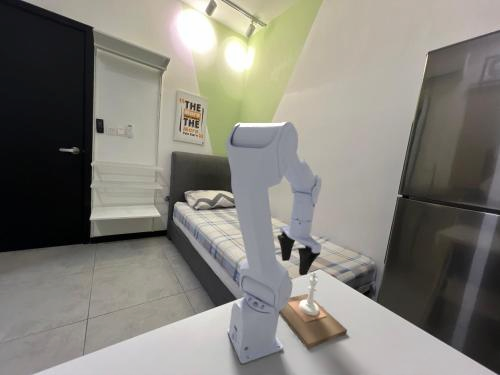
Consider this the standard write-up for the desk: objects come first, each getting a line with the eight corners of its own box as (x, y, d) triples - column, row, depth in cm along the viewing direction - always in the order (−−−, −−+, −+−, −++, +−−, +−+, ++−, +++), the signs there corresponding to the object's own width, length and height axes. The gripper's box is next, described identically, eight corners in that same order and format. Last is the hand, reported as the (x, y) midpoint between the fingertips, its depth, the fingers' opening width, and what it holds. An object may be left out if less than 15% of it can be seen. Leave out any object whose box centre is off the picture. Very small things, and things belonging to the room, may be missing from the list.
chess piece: (313, 318, 49) (320, 280, 48) (295, 307, 52) (301, 271, 51) (321, 309, 53) (327, 273, 52) (304, 299, 56) (309, 265, 55)
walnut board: (307, 348, 42) (308, 343, 42) (272, 304, 54) (273, 300, 54) (346, 333, 47) (347, 329, 47) (306, 297, 59) (307, 293, 59)
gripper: (333, 227, 49) (324, 279, 50) (295, 211, 62) (289, 253, 63) (311, 227, 45) (302, 283, 47) (276, 211, 58) (270, 255, 60)
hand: (293, 266), depth 55 cm, fingers open, 7 cm apart
